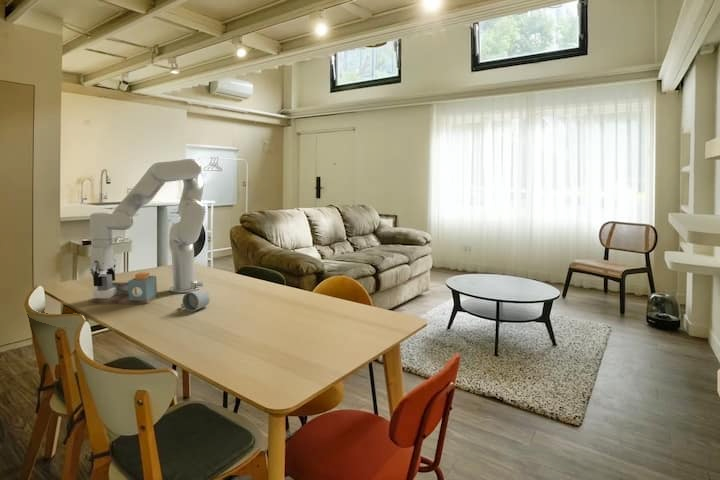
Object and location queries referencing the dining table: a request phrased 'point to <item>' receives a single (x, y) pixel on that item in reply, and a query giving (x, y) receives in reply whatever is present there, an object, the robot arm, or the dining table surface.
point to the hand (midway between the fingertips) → (104, 283)
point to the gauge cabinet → (142, 288)
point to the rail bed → (120, 296)
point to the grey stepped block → (105, 288)
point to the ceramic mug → (195, 300)
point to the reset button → (141, 276)
